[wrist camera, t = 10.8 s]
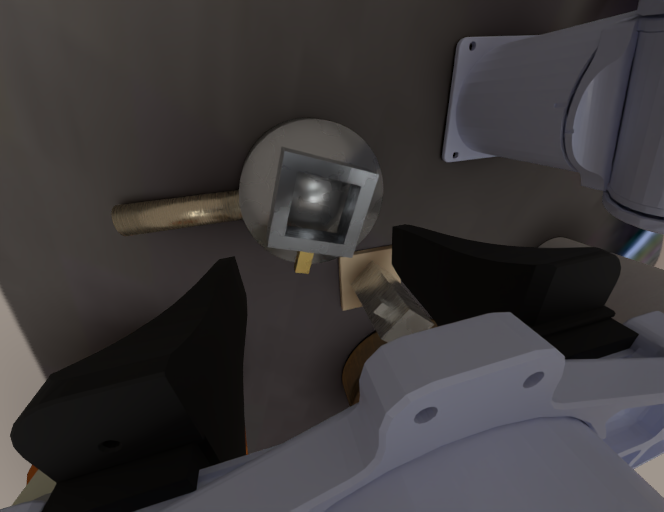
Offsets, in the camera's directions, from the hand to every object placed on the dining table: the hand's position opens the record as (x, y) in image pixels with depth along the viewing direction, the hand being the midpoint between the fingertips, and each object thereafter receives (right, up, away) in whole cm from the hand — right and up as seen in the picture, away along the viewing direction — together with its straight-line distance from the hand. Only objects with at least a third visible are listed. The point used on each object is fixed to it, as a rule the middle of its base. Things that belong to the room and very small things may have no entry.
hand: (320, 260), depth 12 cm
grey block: (+4, -2, +13) cm, 14 cm away
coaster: (+4, -2, +14) cm, 15 cm away
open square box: (-1, +3, +7) cm, 7 cm away
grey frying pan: (-5, +5, +8) cm, 10 cm away
